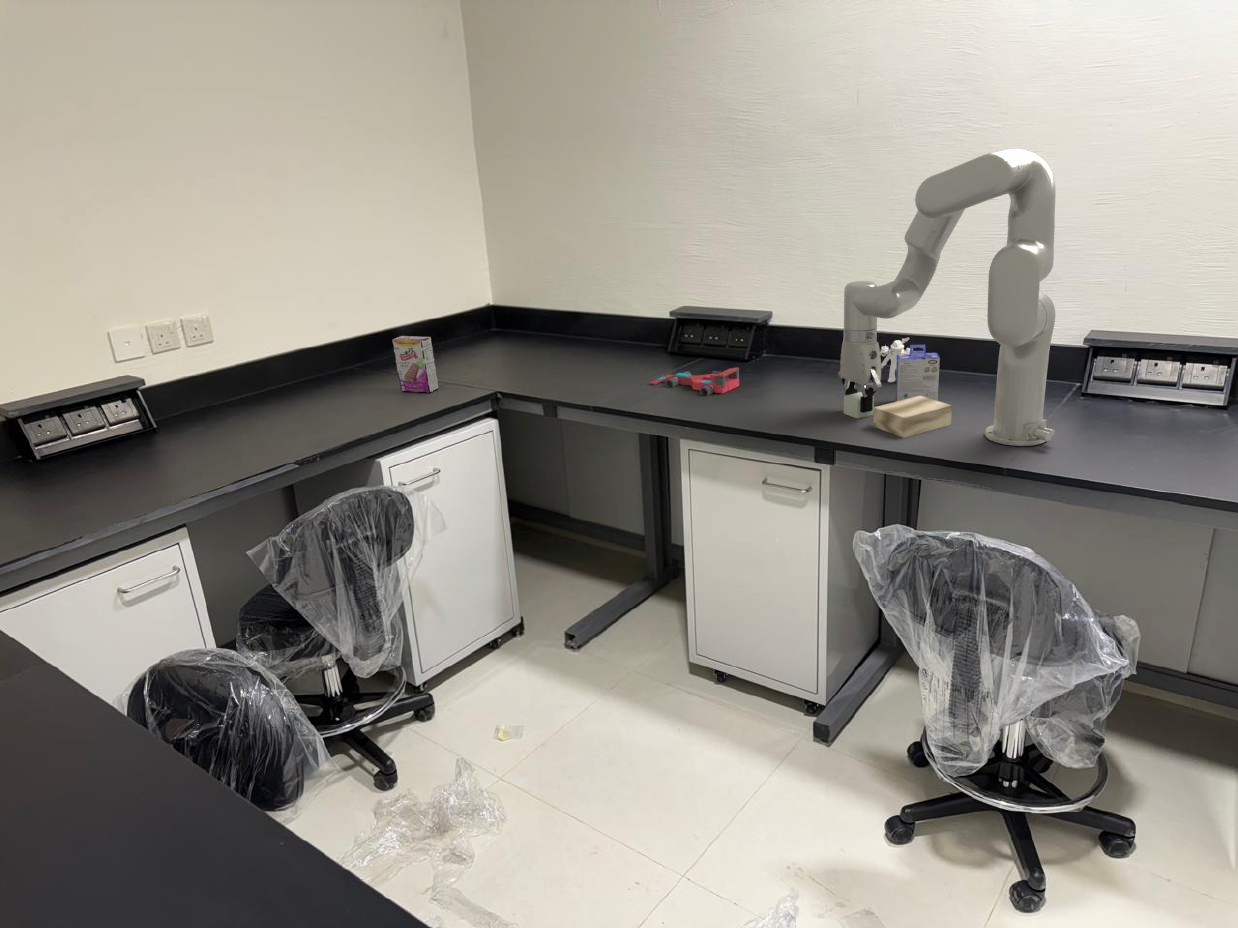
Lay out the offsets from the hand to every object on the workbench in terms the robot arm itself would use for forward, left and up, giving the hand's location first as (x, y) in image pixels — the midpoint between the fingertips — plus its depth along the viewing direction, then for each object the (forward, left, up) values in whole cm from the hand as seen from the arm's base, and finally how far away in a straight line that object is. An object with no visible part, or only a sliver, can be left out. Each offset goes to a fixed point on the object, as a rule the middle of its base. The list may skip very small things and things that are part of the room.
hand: (858, 408), depth 213 cm
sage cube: (0, 0, -2) cm, 2 cm away
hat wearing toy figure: (+16, -25, -2) cm, 30 cm away
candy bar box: (+97, +87, -2) cm, 130 cm away
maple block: (-14, -4, -2) cm, 15 cm away
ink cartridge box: (-2, -16, -2) cm, 16 cm away
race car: (+48, +19, -2) cm, 52 cm away
